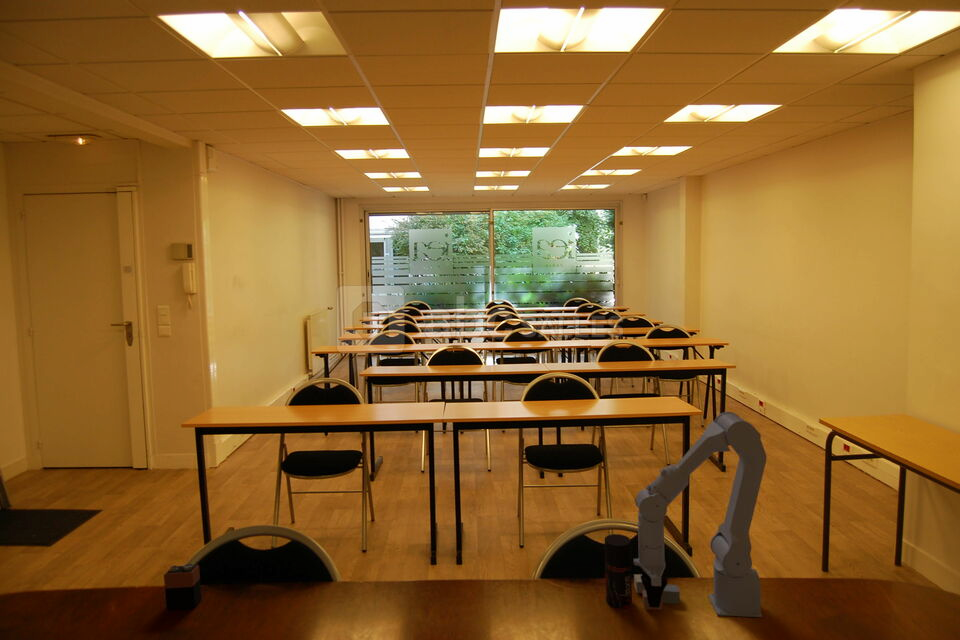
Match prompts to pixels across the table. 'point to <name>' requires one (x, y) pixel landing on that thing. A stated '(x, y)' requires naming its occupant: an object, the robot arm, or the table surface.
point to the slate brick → (671, 594)
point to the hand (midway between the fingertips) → (652, 599)
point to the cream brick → (638, 583)
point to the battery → (182, 587)
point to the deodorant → (618, 571)
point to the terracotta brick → (646, 604)
